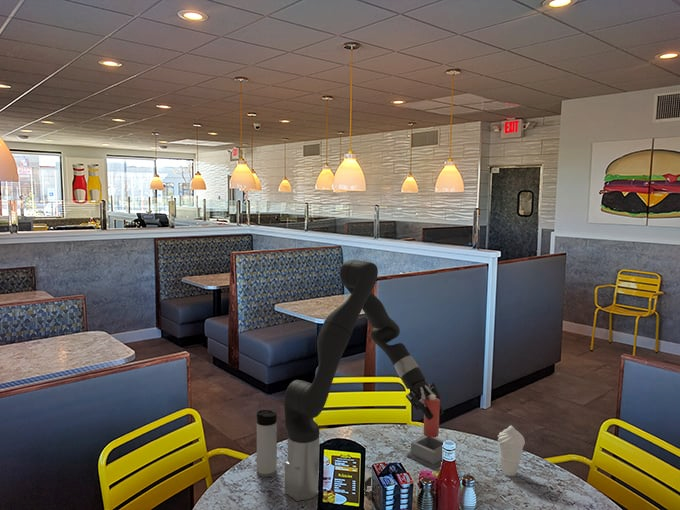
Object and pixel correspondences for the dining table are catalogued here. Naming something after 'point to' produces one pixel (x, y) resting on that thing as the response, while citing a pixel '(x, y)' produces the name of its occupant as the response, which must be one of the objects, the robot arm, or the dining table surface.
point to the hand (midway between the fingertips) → (436, 415)
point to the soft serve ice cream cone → (510, 450)
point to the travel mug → (266, 443)
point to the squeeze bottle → (433, 424)
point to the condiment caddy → (427, 451)
